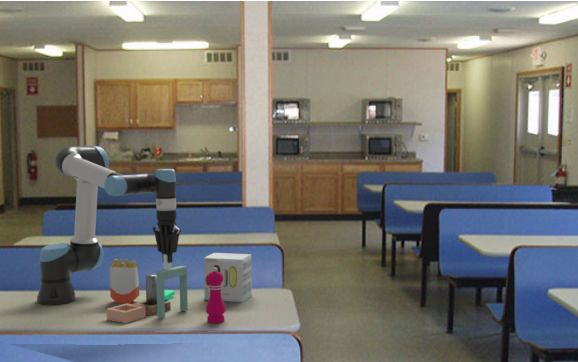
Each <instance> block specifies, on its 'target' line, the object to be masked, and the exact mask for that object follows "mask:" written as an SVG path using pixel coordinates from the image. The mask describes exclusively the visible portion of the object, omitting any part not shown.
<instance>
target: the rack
mask: <svg viewBox="0 0 578 362" xmlns="http://www.w3.org/2000/svg"><path fill="white" fill-rule="evenodd" d="M144 317H145V318H146V317H147V316H146V314H145V307H143V306H138V305H134V303H132V304H131V303H122V304H119V305H116V306H112V307H109V308H106V320H107V321H111V320H112V322H116V321H117V323H121V322H122V324H128V322H129V323H131V321H132V322H135V321H139V320H141V318H142V319H145V318H144ZM134 320H135V321H134Z"/></svg>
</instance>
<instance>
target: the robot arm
mask: <svg viewBox="0 0 578 362" xmlns="http://www.w3.org/2000/svg"><path fill="white" fill-rule="evenodd" d="M54 166H55V169H57V171H58V172H59V173H61V174H62V175H64V176H66V177H71V178H72V177H73V178H74V179H75V180H76V196H75V198H76V199H75V200H76V201H75V216H74V217H75V218H74V232H73V234H74V235H73V236H72V237H71V238H70V241H69V242H70V243H68V242H59V243H52V244H47V245H45V246H44V247H42V248H41V250H40V253H39V254H40V255H39V261H40V287H39V290H38V293H37V296H36V302H37V304H39V305H47V306H54V305H63V304H68V303H72V302H74V301H75V300H76V292H75V290H74V286H73V284H72V281H71V274H74V273H78V272H83V271H91V270H95V269H97V268H98V267H99V266H100V265H101V264H102V263H103V259H104V249H103V246H102V244H101V243H100V242H99V239H98V237H96V225H97V209H98V190H99V187H100V188H102V189H104V191H105V192H106V193H107V195H109V196H110V197H115V196H116V197H121V196H128V195H130V196H131V195H140V194H155V202H156V203H155V204H156V205H155V206H156V209H157V210H156V212H155V213H156V215H155V216H156V220H157V225H155V226H153V227H152V230H153V233H154V238H155V243H156V246H157V247H156V248H157V251H158V252H159V253H161V256H162V257H161V258H162V262H163V270H165V269H169V268H172V263H173V254H174V253H177V250H178V245H179V244H178V243H179V239H180V234H181V231H182V228H181V227H180V228H179V227H178V226H177V223H176V220H177V217H178V216H177V210H176V208H177V178H176V170H175V169H173V168H158V169H156V170H155V173H146V172H143V173H137V174H122V173H119V172H117V171H115V170H112V169H110V168H109V166H110V161H109V157H108V154H107V152H106V151H105V150H104V148H102V147H101V146H96V145H74V146H73V145H69V146H65V147H62V148H61V149H60V150H58V151H57V153H56V155H55V156H54Z"/></svg>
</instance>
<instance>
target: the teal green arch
mask: <svg viewBox="0 0 578 362" xmlns="http://www.w3.org/2000/svg"><path fill="white" fill-rule="evenodd" d="M155 274H156V278H157V314H156V318H161V319H165V318H166V311H165V292H164V290H165V280H170V279H173V278H177V277H179V310H180V311H183V312H188V311H189V310H188V309H189V307H188V304H189V303H188V301H189V300H188V266H185V265H179V266H178V265H177V266H175V267H171V268H169V269H165V270H164V269H161V270H157V271H156V272H155Z"/></svg>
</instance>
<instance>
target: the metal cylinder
mask: <svg viewBox="0 0 578 362" xmlns="http://www.w3.org/2000/svg"><path fill="white" fill-rule="evenodd" d="M145 297H146V298H145V301H146V305H150V306H153V305H157V278H156V273H151V274H150V273H149V274H146V275H145Z"/></svg>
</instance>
